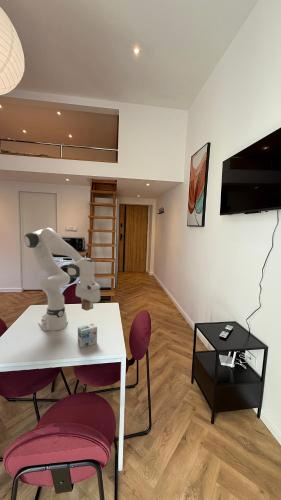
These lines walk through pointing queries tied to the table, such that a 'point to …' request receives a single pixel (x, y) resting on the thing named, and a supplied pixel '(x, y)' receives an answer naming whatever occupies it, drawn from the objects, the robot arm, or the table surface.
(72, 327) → the table surface
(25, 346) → the table surface
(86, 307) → the walnut cube
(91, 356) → the table surface
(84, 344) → the light bulb box
